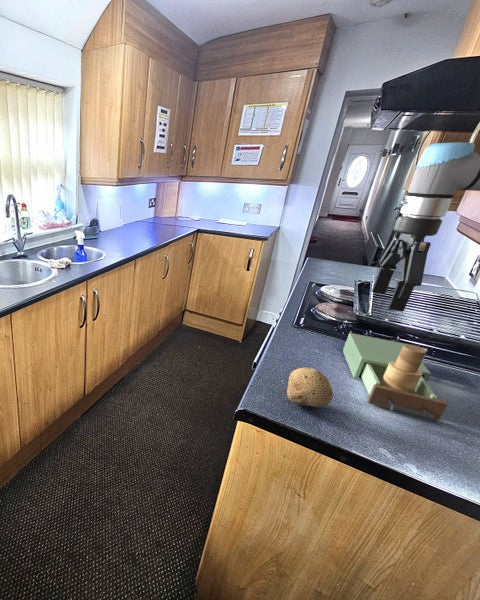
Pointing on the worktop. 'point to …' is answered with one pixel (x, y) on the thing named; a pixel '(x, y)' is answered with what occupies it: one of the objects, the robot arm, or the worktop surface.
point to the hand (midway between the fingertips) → (386, 300)
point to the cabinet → (373, 353)
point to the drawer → (402, 396)
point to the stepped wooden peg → (404, 369)
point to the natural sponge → (309, 388)
